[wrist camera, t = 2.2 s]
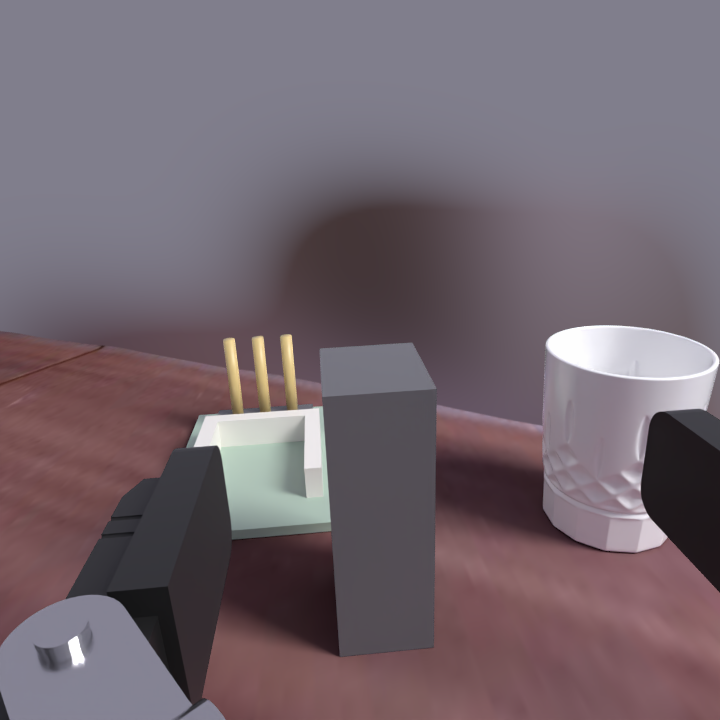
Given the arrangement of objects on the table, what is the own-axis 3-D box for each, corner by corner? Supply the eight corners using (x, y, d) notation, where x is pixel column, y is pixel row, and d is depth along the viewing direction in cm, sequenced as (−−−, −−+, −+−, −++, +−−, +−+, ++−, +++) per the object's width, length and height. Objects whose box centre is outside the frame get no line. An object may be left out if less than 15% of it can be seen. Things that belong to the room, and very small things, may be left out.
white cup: (538, 467, 37) (551, 320, 33) (675, 489, 34) (704, 331, 30) (524, 543, 30) (539, 368, 26) (694, 578, 27) (735, 387, 24)
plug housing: (433, 647, 24) (436, 389, 20) (340, 656, 24) (322, 396, 19) (413, 565, 29) (411, 342, 24) (334, 572, 28) (319, 348, 24)
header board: (352, 529, 32) (345, 406, 29) (151, 546, 31) (125, 421, 28) (338, 411, 45) (333, 321, 43) (200, 421, 45) (186, 330, 42)
